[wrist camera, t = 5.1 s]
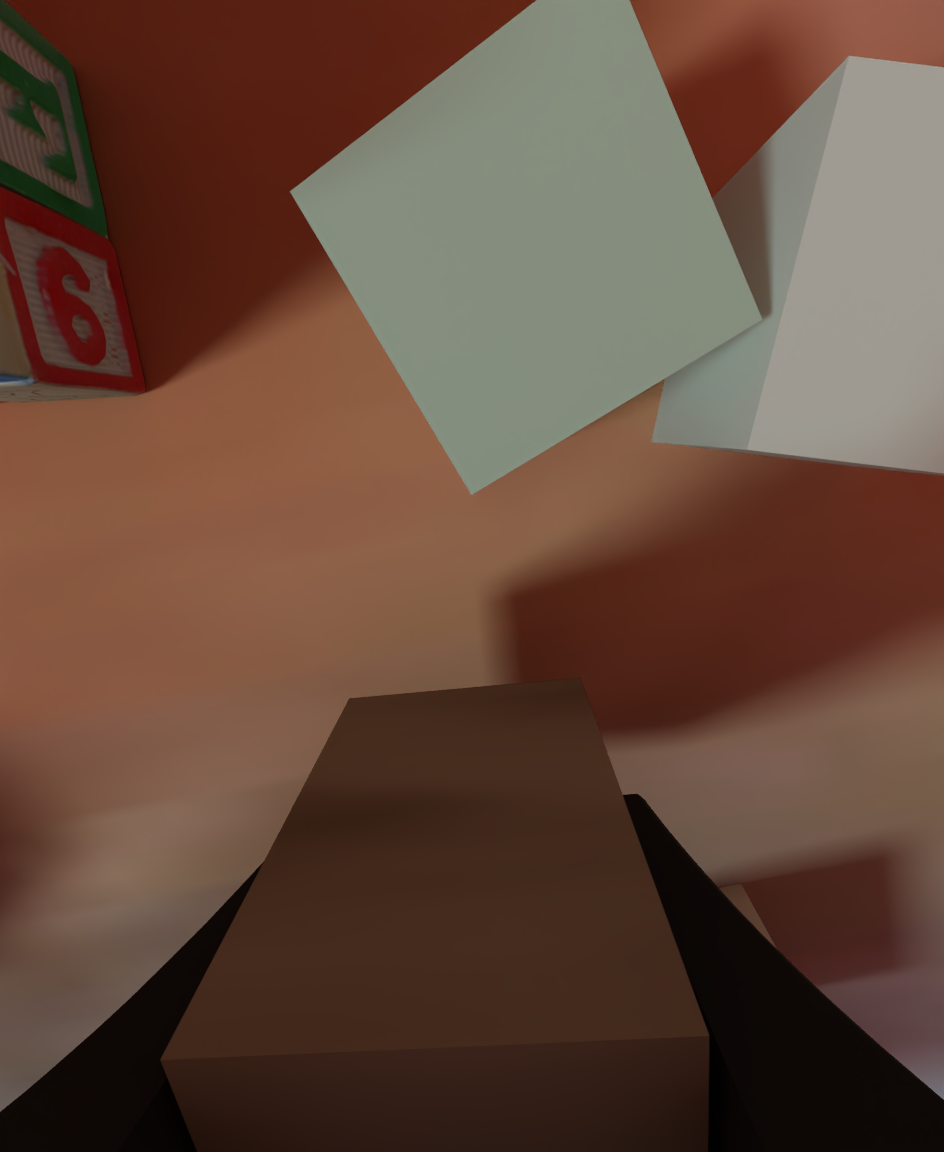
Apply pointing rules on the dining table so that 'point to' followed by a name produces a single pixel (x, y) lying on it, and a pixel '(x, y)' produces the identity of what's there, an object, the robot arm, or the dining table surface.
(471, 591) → the dining table surface
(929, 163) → the white block
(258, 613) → the dining table surface
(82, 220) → the stack of blocks
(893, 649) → the dining table surface
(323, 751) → the walnut bar
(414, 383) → the sage block
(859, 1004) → the dining table surface
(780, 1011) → the robot arm
